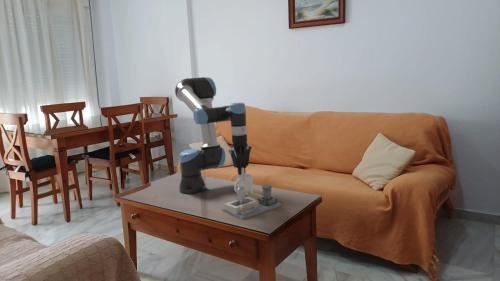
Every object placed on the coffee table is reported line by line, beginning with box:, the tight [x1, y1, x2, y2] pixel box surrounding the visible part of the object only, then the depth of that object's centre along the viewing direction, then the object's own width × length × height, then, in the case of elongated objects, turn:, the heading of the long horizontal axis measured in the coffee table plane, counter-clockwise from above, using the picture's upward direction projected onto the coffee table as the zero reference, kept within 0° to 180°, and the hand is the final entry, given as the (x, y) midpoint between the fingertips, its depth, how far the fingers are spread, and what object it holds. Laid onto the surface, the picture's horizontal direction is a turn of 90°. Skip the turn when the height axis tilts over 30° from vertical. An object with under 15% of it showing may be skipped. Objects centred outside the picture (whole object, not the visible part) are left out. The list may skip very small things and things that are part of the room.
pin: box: [236, 186, 246, 206], centre depth 184 cm, size 4×4×10 cm
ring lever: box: [246, 191, 278, 206], centre depth 194 cm, size 18×7×2 cm, turn 38°
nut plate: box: [221, 184, 281, 220], centre depth 187 cm, size 16×24×10 cm, turn 128°
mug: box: [233, 173, 254, 197], centre depth 209 cm, size 12×8×10 cm
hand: (242, 180), depth 192 cm, fingers closed
